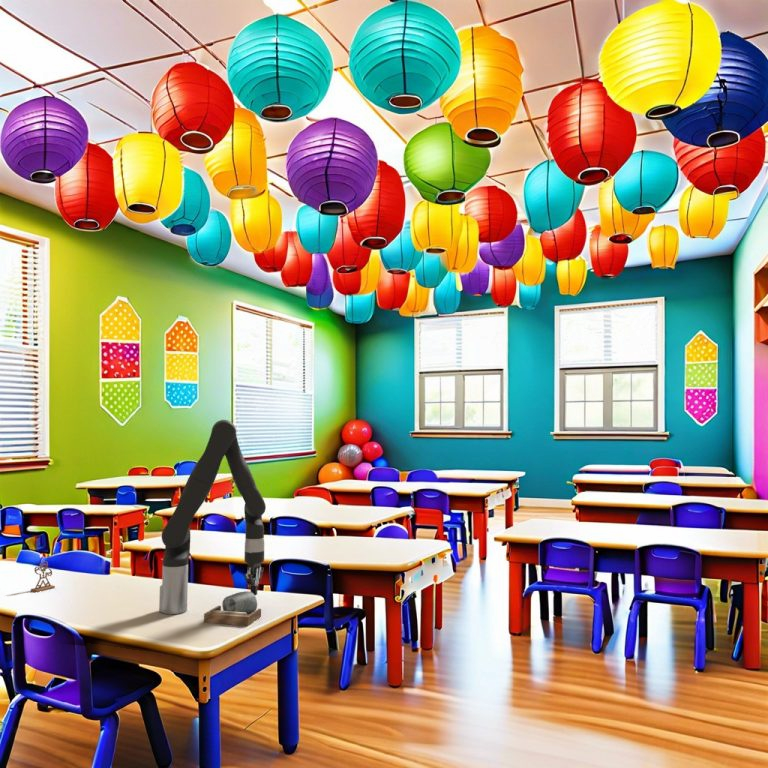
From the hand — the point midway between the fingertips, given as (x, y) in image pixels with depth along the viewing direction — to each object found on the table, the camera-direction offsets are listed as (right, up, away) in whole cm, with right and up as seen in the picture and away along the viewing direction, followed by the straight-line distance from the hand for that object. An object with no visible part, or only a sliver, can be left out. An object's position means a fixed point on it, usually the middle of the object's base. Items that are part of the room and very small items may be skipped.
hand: (253, 595), depth 262 cm
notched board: (-4, -4, -17) cm, 18 cm away
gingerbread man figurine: (-93, -6, +24) cm, 97 cm away
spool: (-3, -4, -11) cm, 12 cm away
